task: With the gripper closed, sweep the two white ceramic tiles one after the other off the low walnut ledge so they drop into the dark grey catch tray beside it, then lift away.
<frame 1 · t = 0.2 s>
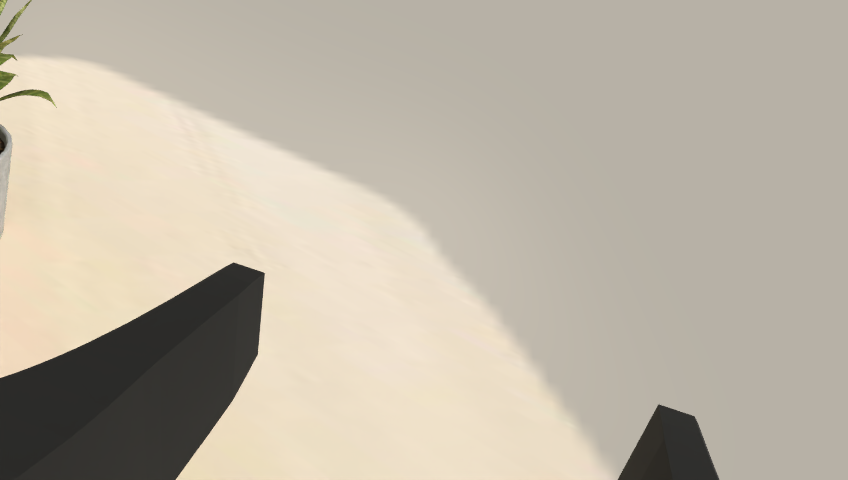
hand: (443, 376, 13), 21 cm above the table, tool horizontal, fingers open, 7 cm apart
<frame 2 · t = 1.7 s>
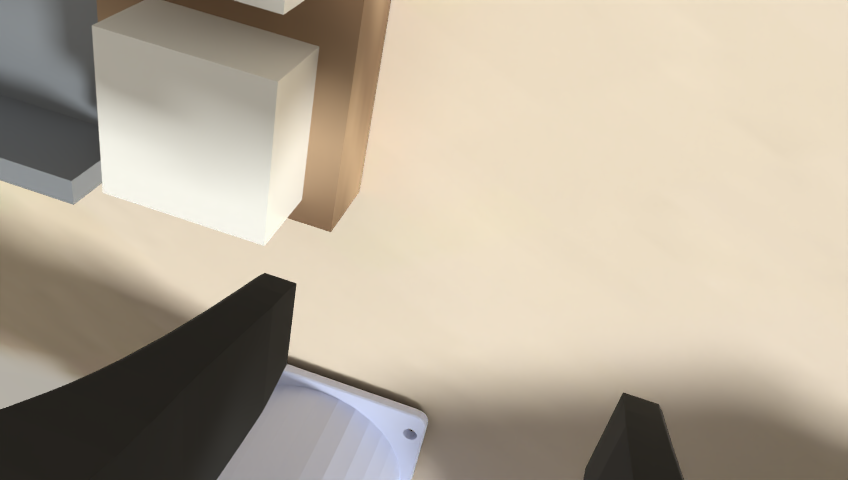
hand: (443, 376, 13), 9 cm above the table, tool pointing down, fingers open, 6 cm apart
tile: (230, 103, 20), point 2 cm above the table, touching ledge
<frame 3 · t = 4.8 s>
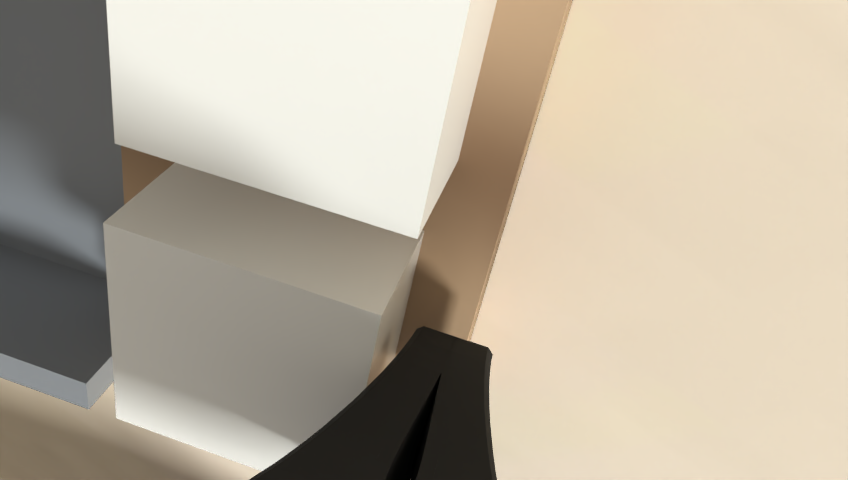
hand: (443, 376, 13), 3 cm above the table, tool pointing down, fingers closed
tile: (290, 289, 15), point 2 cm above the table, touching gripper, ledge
ledge: (353, 101, 15), on the table
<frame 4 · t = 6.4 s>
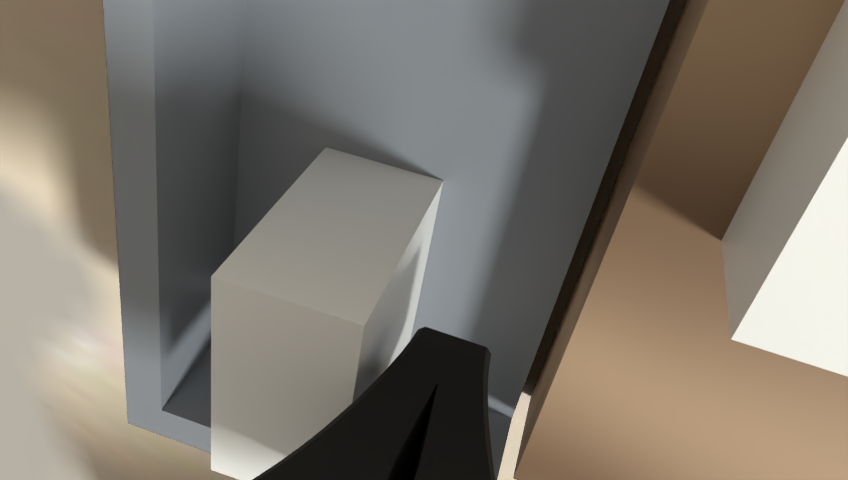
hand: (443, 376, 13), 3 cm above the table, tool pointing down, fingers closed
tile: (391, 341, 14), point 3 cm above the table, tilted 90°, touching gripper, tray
tray: (413, 119, 15), on the table
ledge: (803, 236, 14), on the table
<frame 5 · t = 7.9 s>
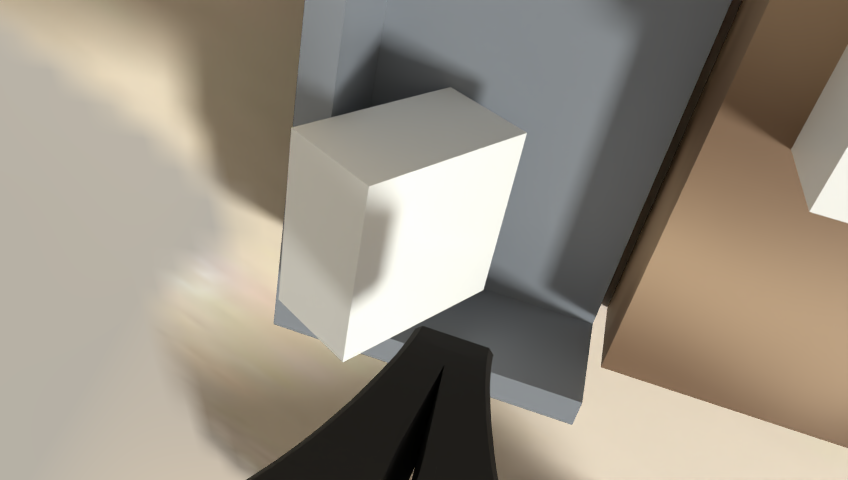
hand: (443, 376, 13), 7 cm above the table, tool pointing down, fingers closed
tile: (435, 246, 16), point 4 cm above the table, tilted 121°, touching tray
tray: (523, 63, 18), on the table
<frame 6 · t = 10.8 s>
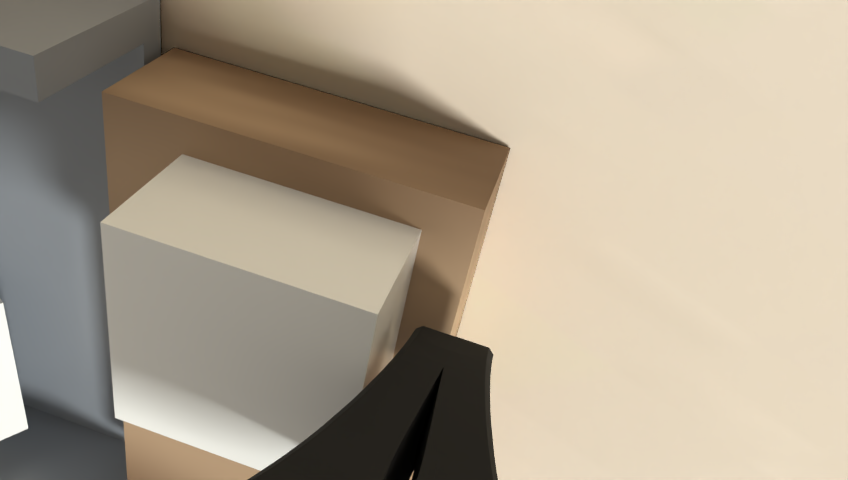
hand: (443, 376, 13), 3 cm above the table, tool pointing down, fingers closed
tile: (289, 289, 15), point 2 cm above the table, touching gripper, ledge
tray: (30, 229, 19), on the table
ledge: (308, 322, 18), on the table
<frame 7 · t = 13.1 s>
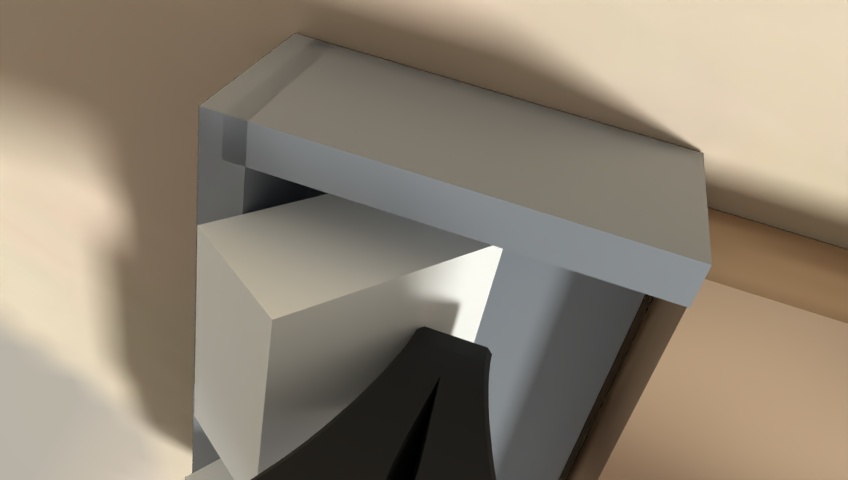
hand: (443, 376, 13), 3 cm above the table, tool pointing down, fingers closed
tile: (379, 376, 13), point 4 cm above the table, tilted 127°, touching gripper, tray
tray: (430, 363, 18), on the table
ledge: (746, 470, 17), on the table
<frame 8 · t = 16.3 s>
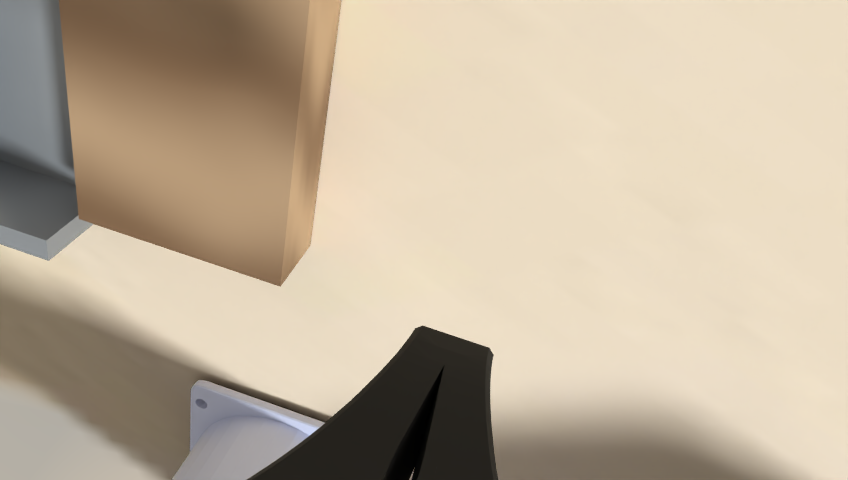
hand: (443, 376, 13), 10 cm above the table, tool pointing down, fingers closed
ledge: (220, 49, 23), on the table
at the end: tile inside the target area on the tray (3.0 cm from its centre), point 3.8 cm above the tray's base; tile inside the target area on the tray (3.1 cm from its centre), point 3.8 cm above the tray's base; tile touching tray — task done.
